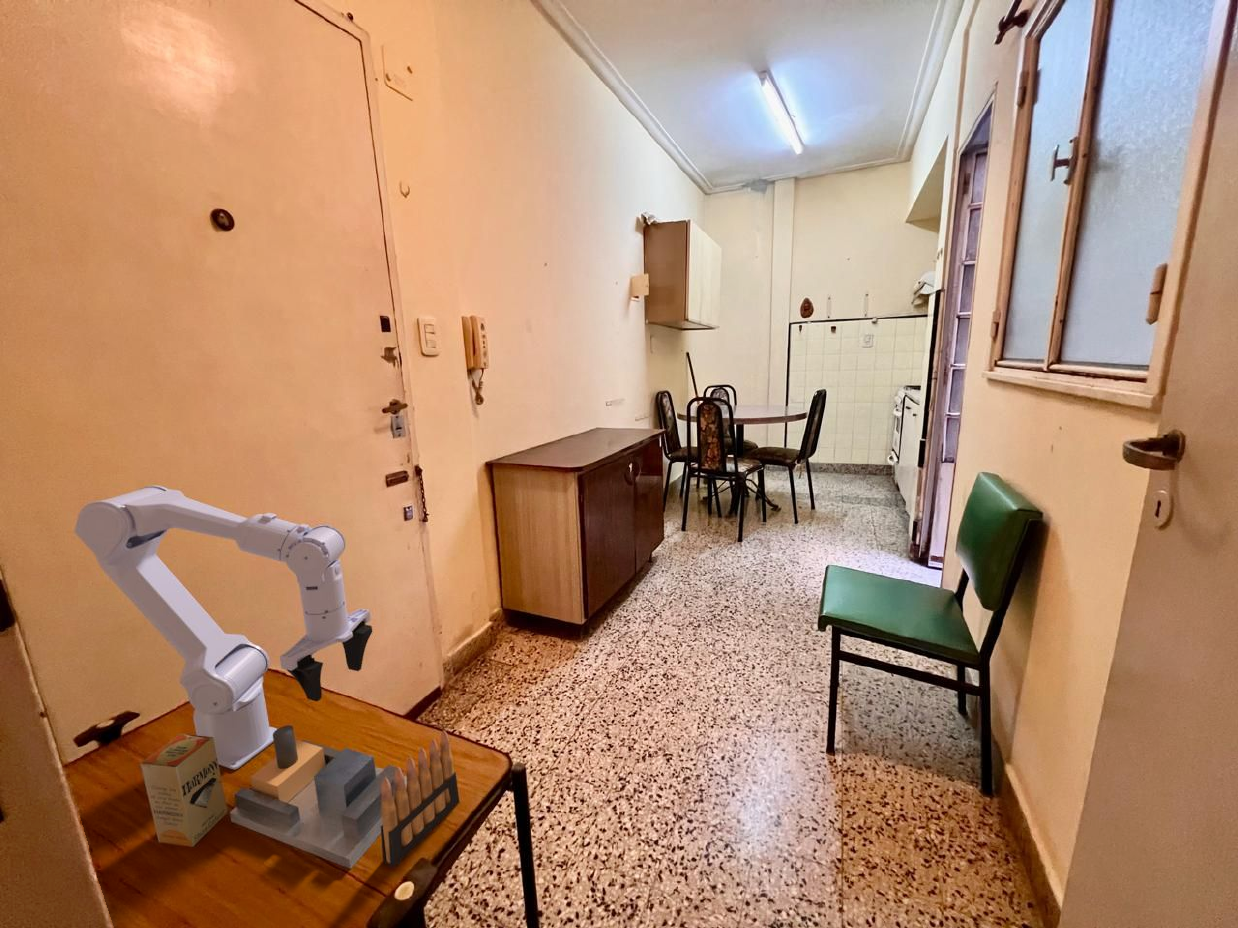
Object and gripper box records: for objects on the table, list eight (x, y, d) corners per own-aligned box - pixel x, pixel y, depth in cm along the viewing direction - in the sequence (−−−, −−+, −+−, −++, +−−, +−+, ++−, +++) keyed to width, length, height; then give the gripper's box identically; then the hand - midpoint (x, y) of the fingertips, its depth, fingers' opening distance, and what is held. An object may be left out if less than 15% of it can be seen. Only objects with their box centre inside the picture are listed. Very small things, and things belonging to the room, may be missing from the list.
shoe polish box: (227, 811, 67) (213, 736, 64) (192, 846, 62) (175, 767, 59) (196, 807, 67) (180, 733, 65) (158, 842, 62) (140, 763, 60)
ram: (254, 798, 67) (244, 745, 65) (300, 759, 73) (292, 710, 72) (281, 808, 65) (271, 754, 64) (325, 767, 72) (318, 718, 70)
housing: (310, 810, 65) (305, 773, 64) (342, 780, 70) (337, 745, 68) (348, 824, 63) (343, 785, 62) (378, 792, 68) (373, 756, 67)
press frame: (231, 821, 65) (225, 790, 64) (311, 754, 76) (307, 727, 75) (350, 868, 59) (346, 835, 58) (418, 788, 70) (415, 759, 69)
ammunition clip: (392, 868, 59) (382, 786, 57) (382, 861, 60) (372, 779, 58) (459, 801, 68) (454, 728, 66) (450, 795, 69) (444, 723, 67)
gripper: (301, 634, 67) (314, 719, 69) (381, 588, 80) (389, 661, 83) (263, 626, 69) (278, 709, 71) (348, 582, 82) (357, 654, 85)
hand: (335, 683), depth 77 cm, fingers open, 7 cm apart
